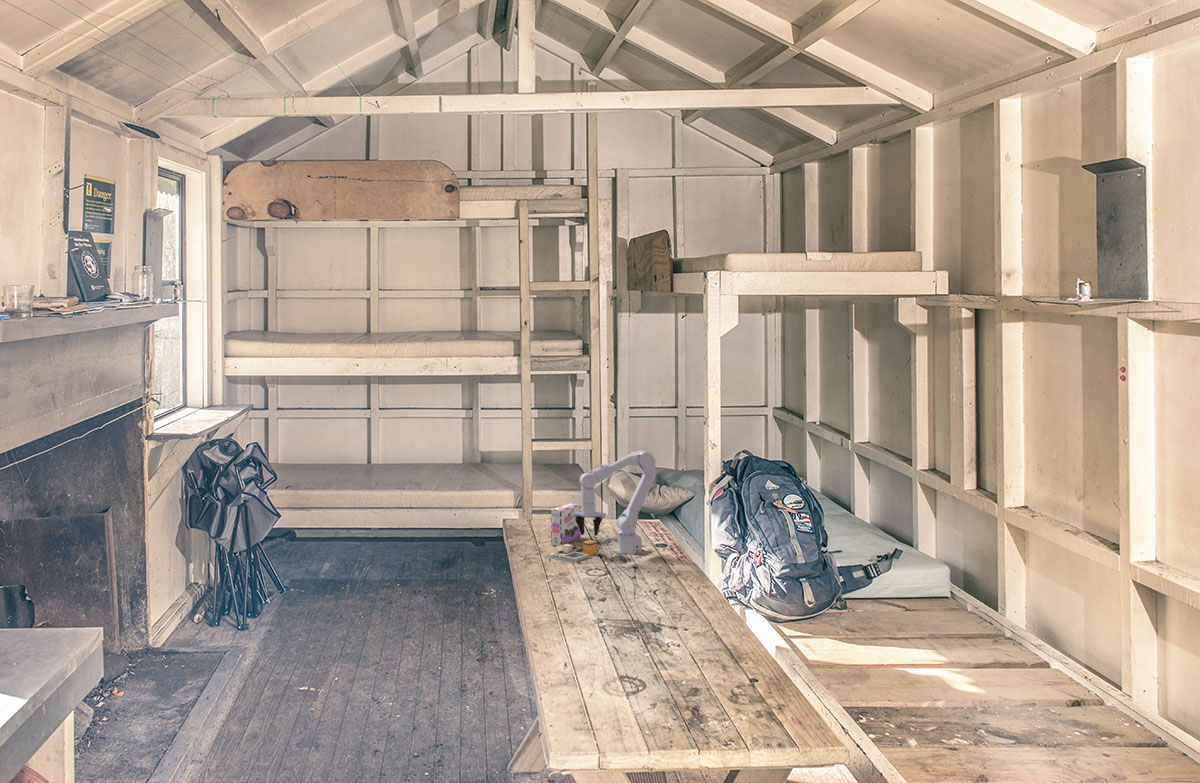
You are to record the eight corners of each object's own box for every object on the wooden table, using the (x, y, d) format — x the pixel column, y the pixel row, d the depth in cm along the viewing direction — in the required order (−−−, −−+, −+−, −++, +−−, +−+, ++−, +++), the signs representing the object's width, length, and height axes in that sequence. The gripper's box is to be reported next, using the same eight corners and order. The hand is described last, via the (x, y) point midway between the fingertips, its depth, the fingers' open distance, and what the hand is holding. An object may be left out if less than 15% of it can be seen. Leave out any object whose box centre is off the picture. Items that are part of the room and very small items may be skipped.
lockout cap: (597, 553, 386) (596, 541, 385) (590, 555, 383) (590, 543, 382) (589, 551, 389) (589, 539, 388) (583, 553, 385) (582, 542, 385)
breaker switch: (572, 552, 388) (572, 545, 387) (568, 553, 386) (568, 546, 386) (566, 550, 390) (566, 543, 390) (562, 552, 388) (562, 545, 388)
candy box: (561, 547, 402) (560, 510, 400) (551, 546, 405) (549, 508, 404) (581, 540, 413) (580, 504, 411) (570, 539, 416) (569, 502, 415)
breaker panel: (602, 556, 386) (602, 550, 386) (572, 566, 372) (572, 560, 372) (575, 550, 396) (574, 544, 396) (545, 560, 383) (544, 554, 382)
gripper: (608, 501, 385) (609, 533, 386) (575, 499, 390) (576, 531, 391) (602, 504, 378) (603, 537, 380) (569, 503, 383) (570, 535, 384)
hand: (589, 534), depth 385 cm, fingers open, 5 cm apart
